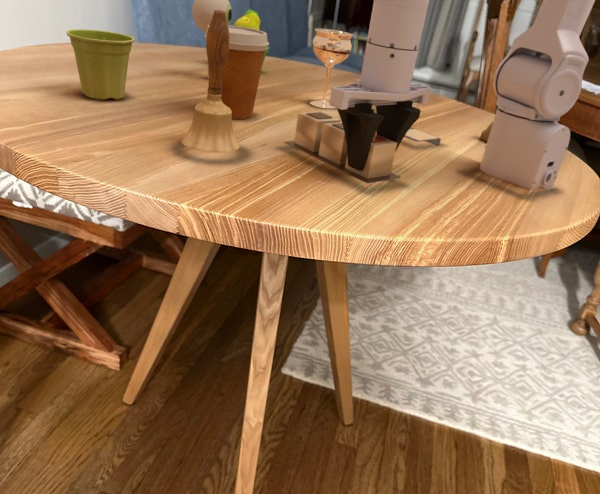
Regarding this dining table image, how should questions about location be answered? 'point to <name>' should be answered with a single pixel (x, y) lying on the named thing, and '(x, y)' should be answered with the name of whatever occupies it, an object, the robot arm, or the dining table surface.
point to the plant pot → (101, 62)
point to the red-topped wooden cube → (377, 158)
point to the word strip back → (418, 133)
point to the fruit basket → (250, 22)
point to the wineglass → (330, 54)
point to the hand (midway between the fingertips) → (368, 165)
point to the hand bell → (214, 97)
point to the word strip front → (326, 142)
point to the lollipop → (209, 12)
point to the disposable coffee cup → (242, 69)
